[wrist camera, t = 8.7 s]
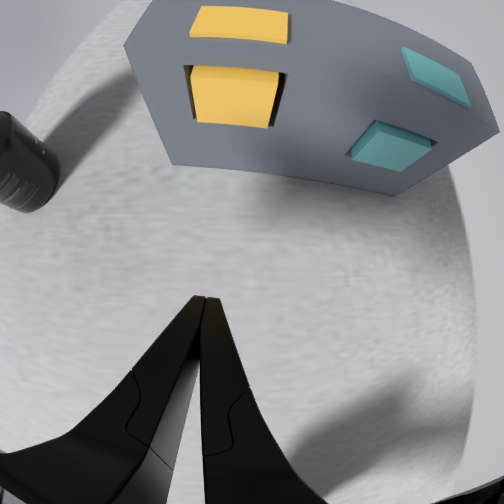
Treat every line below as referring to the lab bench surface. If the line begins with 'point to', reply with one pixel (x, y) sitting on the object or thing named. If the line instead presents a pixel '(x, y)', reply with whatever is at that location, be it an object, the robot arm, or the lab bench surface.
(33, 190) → the supplement bottle
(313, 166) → the button panel
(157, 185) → the lab bench surface
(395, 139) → the teal button
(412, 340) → the lab bench surface
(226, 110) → the amber button
